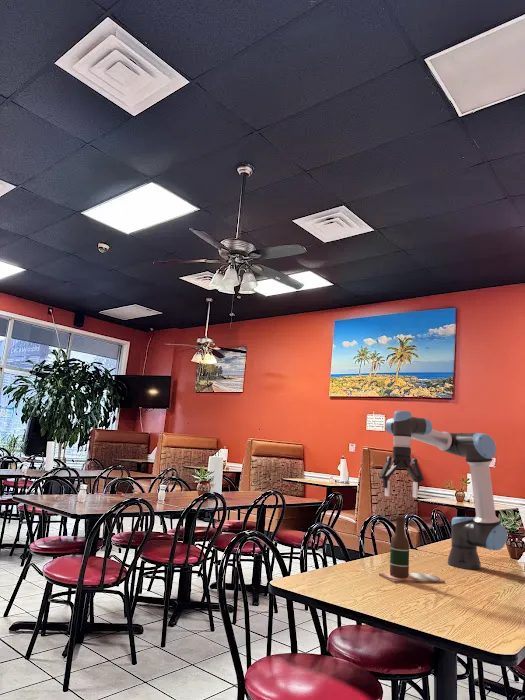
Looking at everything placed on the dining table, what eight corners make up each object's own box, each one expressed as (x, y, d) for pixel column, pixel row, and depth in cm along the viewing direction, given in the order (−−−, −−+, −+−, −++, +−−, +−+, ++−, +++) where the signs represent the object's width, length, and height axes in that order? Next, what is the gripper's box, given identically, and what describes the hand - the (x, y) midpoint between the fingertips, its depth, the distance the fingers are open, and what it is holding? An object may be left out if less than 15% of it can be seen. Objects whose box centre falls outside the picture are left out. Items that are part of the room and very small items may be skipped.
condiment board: (428, 575, 220) (428, 572, 221) (445, 583, 209) (445, 580, 209) (378, 575, 214) (378, 572, 214) (393, 582, 203) (393, 579, 203)
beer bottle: (411, 579, 206) (412, 517, 211) (391, 577, 207) (393, 516, 211) (406, 574, 214) (407, 515, 219) (387, 573, 214) (389, 514, 219)
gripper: (421, 448, 227) (421, 497, 223) (372, 444, 221) (370, 494, 217) (431, 448, 220) (431, 499, 216) (380, 444, 214) (379, 496, 210)
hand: (401, 496), depth 217 cm, fingers open, 13 cm apart
